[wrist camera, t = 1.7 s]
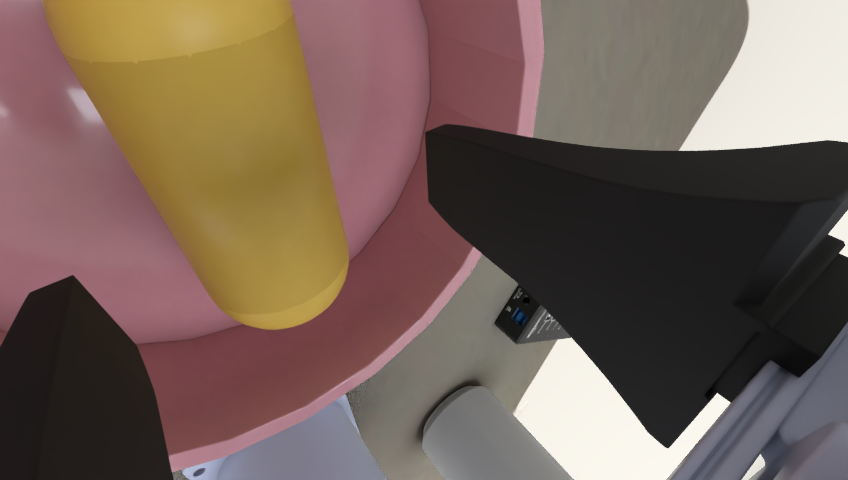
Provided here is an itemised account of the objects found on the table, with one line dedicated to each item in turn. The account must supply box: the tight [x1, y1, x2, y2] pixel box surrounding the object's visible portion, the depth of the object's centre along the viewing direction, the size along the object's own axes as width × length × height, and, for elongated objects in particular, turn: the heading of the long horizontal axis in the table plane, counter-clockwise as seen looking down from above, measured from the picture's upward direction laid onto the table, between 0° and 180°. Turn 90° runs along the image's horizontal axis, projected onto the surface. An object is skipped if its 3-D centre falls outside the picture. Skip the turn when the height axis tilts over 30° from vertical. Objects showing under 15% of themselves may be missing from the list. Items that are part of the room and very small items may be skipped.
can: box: [422, 386, 574, 480], centre depth 33 cm, size 8×8×12 cm
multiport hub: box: [495, 285, 571, 344], centre depth 35 cm, size 4×11×2 cm, turn 53°
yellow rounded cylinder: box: [41, 0, 349, 330], centre depth 11 cm, size 12×4×4 cm, turn 1°
